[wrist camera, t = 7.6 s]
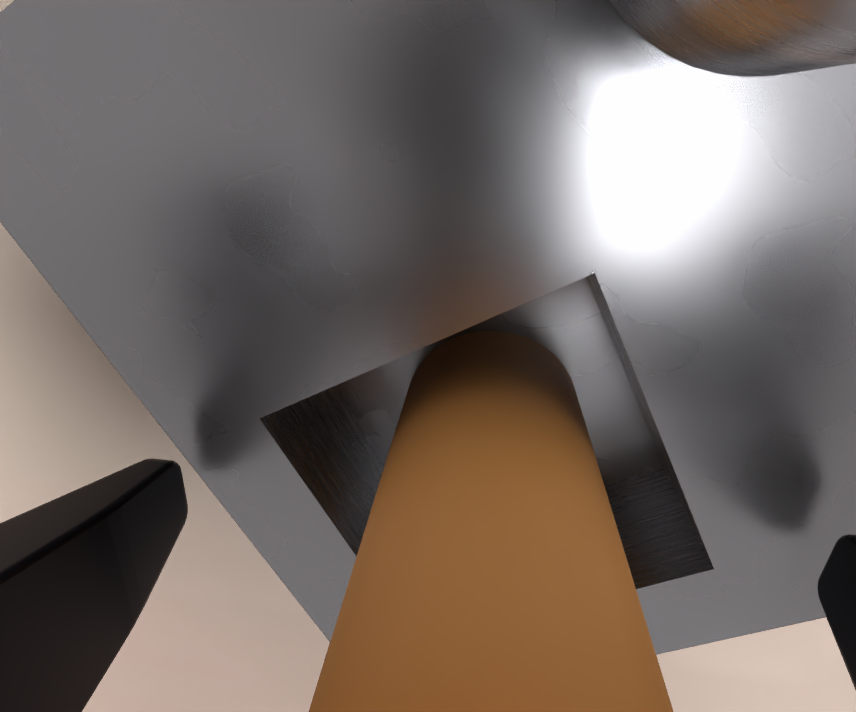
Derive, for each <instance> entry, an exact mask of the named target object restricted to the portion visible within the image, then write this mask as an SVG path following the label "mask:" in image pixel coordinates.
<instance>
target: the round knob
mask: <svg viewBox="0 0 856 712" xmlns="http://www.w3.org/2000/svg"><path fill="white" fill-rule="evenodd" d="M309 712H673V709H672V706H671V702H670V699H669V696H668V693H667V689H666V686H665V683H664V679H663V676H662V673H661V670H660V666H659V663H658V660H657V656H656V653H655V650H654V647H653V643H652V640H651V637H650V634H649V630H648V627H647V624H646V620H645V617H644V614H643V611H642V607H641V604H640V601H639V597H638V594H637V591H636V588H635V584H634V581H633V578H632V574H631V571H630V568H629V565H628V561H627V558H626V555H625V551H624V548H623V545H622V542H621V538H620V535H619V532H618V529H617V525H616V522H615V519H614V515H613V512H612V509H611V506H610V502H609V499H608V496H607V492H606V489H605V486H604V483H603V479H602V476H601V473H600V469H599V466H598V463H597V460H596V456H595V453H594V450H593V446H592V443H591V440H590V437H589V433H588V430H587V427H586V423H585V420H584V417H583V414H582V410H581V407H580V404H579V401H578V397H577V394H576V391H575V388H574V385H573V382H572V379H571V377H570V375H569V373H568V372H567V370H566V368H565V367H564V366H563V364H562V363H561V362H560V360H559V359H558V358H557V357H556V356H555V355H554V354H553V353H552V352H550V351H549V350H548V349H546V348H545V347H544V346H542V345H540V344H539V343H537V342H535V341H533V340H531V339H529V338H526V337H524V336H521V335H517V334H514V333H509V332H502V331H479V332H473V333H468V334H464V335H461V336H458V337H455V338H453V339H451V340H449V341H447V342H445V343H443V344H441V345H440V346H439V347H437V348H436V349H434V350H433V351H432V352H431V353H430V354H429V355H428V356H426V358H425V359H424V360H423V361H422V362H421V364H420V365H419V366H418V368H417V370H416V371H415V373H414V375H413V377H412V380H411V382H410V385H409V388H408V391H407V395H406V398H405V401H404V404H403V408H402V411H401V414H400V417H399V421H398V424H397V427H396V430H395V434H394V437H393V440H392V443H391V447H390V450H389V453H388V456H387V460H386V463H385V466H384V469H383V472H382V476H381V479H380V482H379V485H378V489H377V492H376V495H375V498H374V502H373V505H372V508H371V511H370V515H369V518H368V521H367V524H366V528H365V531H364V534H363V537H362V541H361V544H360V547H359V550H358V554H357V557H356V560H355V563H354V567H353V570H352V573H351V576H350V580H349V583H348V586H347V589H346V592H345V596H344V599H343V602H342V605H341V609H340V612H339V615H338V618H337V622H336V625H335V628H334V631H333V635H332V638H331V641H330V644H329V648H328V651H327V654H326V657H325V661H324V664H323V667H322V670H321V674H320V677H319V680H318V683H317V687H316V690H315V693H314V696H313V700H312V703H311V706H310V709H309Z"/></svg>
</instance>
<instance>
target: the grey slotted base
mask: <svg viewBox="0 0 856 712" xmlns="http://www.w3.org/2000/svg"><path fill="white" fill-rule="evenodd" d="M0 222H1V223H2V225H3V226H4V227H5V229H6V230H7V231H8V232H9V234H10V235H11V236H12V237H13V239H14V240H15V241H16V243H17V244H18V245H19V246H20V248H21V249H22V250H23V251H24V253H25V254H26V255H27V257H28V258H29V259H30V260H31V262H32V263H33V264H34V265H35V267H36V268H37V269H38V271H39V272H40V273H41V274H42V276H43V277H44V278H45V279H46V281H47V282H48V283H49V285H50V286H51V287H52V288H53V290H54V291H55V292H56V294H57V295H58V296H59V297H60V299H61V300H62V301H63V302H64V304H65V305H66V306H67V308H68V309H69V310H70V311H71V313H72V314H73V315H74V316H75V318H76V319H77V320H78V322H79V323H80V324H81V325H82V327H83V328H84V329H85V330H86V332H87V333H88V334H89V336H90V337H91V338H92V339H93V341H94V342H95V343H96V345H97V346H98V347H99V348H100V350H101V351H102V352H103V353H104V355H105V356H106V357H107V359H108V360H109V361H110V362H111V364H112V365H113V366H114V367H115V369H116V370H117V371H118V373H119V374H120V375H121V376H122V378H123V379H124V380H125V381H126V383H127V384H128V385H129V387H130V388H131V389H132V390H133V392H134V393H135V394H136V395H137V397H138V398H139V399H140V401H141V402H142V403H143V404H144V406H145V407H146V408H147V410H148V411H149V412H150V413H151V415H152V416H153V417H154V418H155V420H156V421H157V422H158V424H159V425H160V426H161V427H162V429H163V430H164V431H165V432H166V434H167V435H168V436H169V438H170V439H171V440H172V441H173V443H174V444H175V445H176V446H177V448H178V449H179V450H180V452H181V453H182V454H183V455H184V457H185V458H186V459H187V460H188V462H189V463H190V464H191V466H192V467H193V468H194V469H195V471H196V472H197V473H198V475H199V476H200V477H201V478H202V480H203V481H204V482H205V483H206V485H207V486H208V487H209V489H210V490H211V491H212V492H213V494H214V495H215V496H216V497H217V499H218V500H219V501H220V503H221V504H222V505H223V506H224V508H225V509H226V510H227V511H228V513H229V514H230V515H231V517H232V518H233V519H234V520H235V522H236V523H237V524H238V526H239V527H240V528H241V529H242V531H243V532H244V533H245V534H246V536H247V537H248V538H249V540H250V541H251V542H252V543H253V545H254V546H255V547H256V548H257V550H258V551H259V552H260V554H261V555H262V556H263V557H264V559H265V560H266V561H267V562H268V564H269V565H270V566H271V568H272V569H273V570H274V571H275V573H276V574H277V575H278V576H279V578H280V579H281V580H282V582H283V583H284V584H285V585H286V587H287V588H288V589H289V591H290V592H291V593H292V594H293V596H294V597H295V598H296V599H297V601H298V602H299V603H300V605H301V606H302V607H303V608H304V610H305V611H306V612H307V613H308V615H309V616H310V617H311V619H312V620H313V621H314V622H315V624H316V625H317V626H318V627H319V629H320V630H321V631H322V633H323V634H324V635H325V636H326V638H327V639H328V640H329V642H330V641H331V638H332V635H333V631H334V628H335V625H336V622H337V618H338V615H339V612H340V609H341V605H342V602H343V599H344V596H345V592H346V589H347V586H348V583H349V580H350V576H351V573H352V570H353V567H354V563H355V560H356V557H357V554H358V550H359V547H360V544H361V541H362V537H363V534H364V531H365V528H366V524H367V521H368V518H369V515H370V511H371V508H372V505H373V502H374V498H375V495H376V492H377V489H378V485H379V482H380V479H381V476H382V472H383V469H384V466H385V463H386V460H387V456H388V453H389V450H390V447H391V443H392V440H393V437H394V434H395V430H396V427H397V424H398V421H399V417H400V414H401V411H402V408H403V404H404V401H405V398H406V395H407V391H408V388H409V385H410V382H411V380H412V377H413V375H414V373H415V371H416V370H417V368H418V366H419V365H420V364H421V362H422V361H423V360H424V359H425V358H426V356H428V355H429V354H430V353H431V352H432V351H433V350H434V349H436V348H437V347H439V346H440V345H441V344H443V343H445V342H447V341H449V340H451V339H453V338H455V337H458V336H461V335H464V334H468V333H473V332H479V331H502V332H509V333H514V334H517V335H521V336H524V337H526V338H529V339H531V340H533V341H535V342H537V343H539V344H540V345H542V346H544V347H545V348H546V349H548V350H549V351H550V352H552V353H553V354H554V355H555V356H556V357H557V358H558V359H559V360H560V362H561V363H562V364H563V366H564V367H565V368H566V370H567V372H568V373H569V375H570V377H571V379H572V382H573V385H574V388H575V391H576V394H577V397H578V401H579V404H580V407H581V410H582V414H583V417H584V420H585V423H586V427H587V430H588V433H589V437H590V440H591V443H592V446H593V450H594V453H595V456H596V460H597V463H598V466H599V469H600V473H601V476H602V479H603V483H604V486H605V489H606V492H607V496H608V499H609V502H610V506H611V509H612V512H613V515H614V519H615V522H616V525H617V529H618V532H619V535H620V538H621V542H622V545H623V548H624V551H625V555H626V558H627V561H628V565H629V568H630V571H631V574H632V578H633V581H634V584H635V588H636V591H637V594H638V597H639V601H640V604H641V607H642V611H643V614H644V617H645V620H646V624H647V627H648V630H649V634H650V637H651V640H652V643H653V647H654V650H655V653H656V654H661V653H665V652H670V651H674V650H679V649H683V648H688V647H693V646H697V645H702V644H706V643H711V642H715V641H720V640H724V639H729V638H733V637H738V636H743V635H747V634H752V633H756V632H761V631H765V630H770V629H774V628H779V627H784V626H788V625H793V624H797V623H802V622H806V621H811V620H815V619H820V618H824V617H826V615H825V612H824V610H823V607H822V605H821V602H820V599H819V596H818V579H819V577H820V575H821V573H822V570H823V568H824V566H825V564H826V562H827V560H828V558H829V556H830V554H831V552H832V550H833V548H834V545H835V543H836V542H837V540H838V539H839V538H841V537H842V536H843V535H848V534H852V535H856V0H15V1H13V2H12V3H11V4H10V5H9V6H7V7H6V8H5V9H4V10H3V11H2V12H0Z"/></svg>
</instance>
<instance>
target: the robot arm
mask: <svg viewBox="0 0 856 712" xmlns="http://www.w3.org/2000/svg"><path fill="white" fill-rule="evenodd" d="M187 512H188V506H187V499H186V494H185V488H184V483H183V477H182V472H181V468H180V466H179V465H178V463H176V462H174V461H171V460H161V459H146V460H143V461H141V462H138V463H136V464H134V465H132V466H129V467H127V468H125V469H123V470H120V471H118V472H116V473H114V474H111V475H109V476H107V477H104V478H102V479H100V480H98V481H95V482H93V483H91V484H89V485H86V486H84V487H82V488H79V489H77V490H75V491H73V492H70V493H68V494H66V495H64V496H61V497H59V498H57V499H54V500H52V501H50V502H48V503H45V504H43V505H41V506H39V507H36V508H34V509H32V510H30V511H27V512H25V513H23V514H20V515H18V516H16V517H14V518H11V519H9V520H7V521H5V522H2V523H0V712H82V710H83V709H84V707H85V706H86V704H87V702H88V701H89V699H90V697H91V696H92V694H93V692H94V691H95V689H96V688H97V686H98V684H99V683H100V681H101V679H102V678H103V676H104V675H105V673H106V671H107V670H108V668H109V666H110V665H111V663H112V661H113V660H114V658H115V657H116V655H117V653H118V652H119V650H120V648H121V647H122V645H123V644H124V642H125V640H126V638H127V637H128V635H129V633H130V632H131V630H132V628H133V627H134V625H135V623H136V621H137V619H138V617H139V615H140V614H141V612H142V610H143V608H144V606H145V604H146V602H147V600H148V598H149V596H150V594H151V592H152V589H153V587H154V585H155V583H156V581H157V579H158V577H159V575H160V573H161V571H162V569H163V567H164V565H165V563H166V561H167V559H168V557H169V555H170V553H171V551H172V548H173V546H174V544H175V542H176V540H177V538H178V536H179V534H180V532H181V530H182V528H183V526H184V524H185V521H186V518H187ZM818 596H819V599H820V602H821V605H822V607H823V610H824V612H825V615H826V617H827V620H828V622H829V625H830V627H831V630H832V632H833V635H834V637H835V640H836V642H837V645H838V647H839V650H840V652H841V655H842V657H843V660H844V662H845V665H846V667H847V670H848V672H849V675H850V677H851V680H852V682H853V685H854V687H855V690H856V535H852V534H848V535H843V536H842V537H841V538H839V539H838V540H837V542H836V543H835V545H834V548H833V550H832V552H831V554H830V556H829V558H828V560H827V562H826V564H825V566H824V568H823V570H822V573H821V575H820V577H819V579H818Z"/></svg>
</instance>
